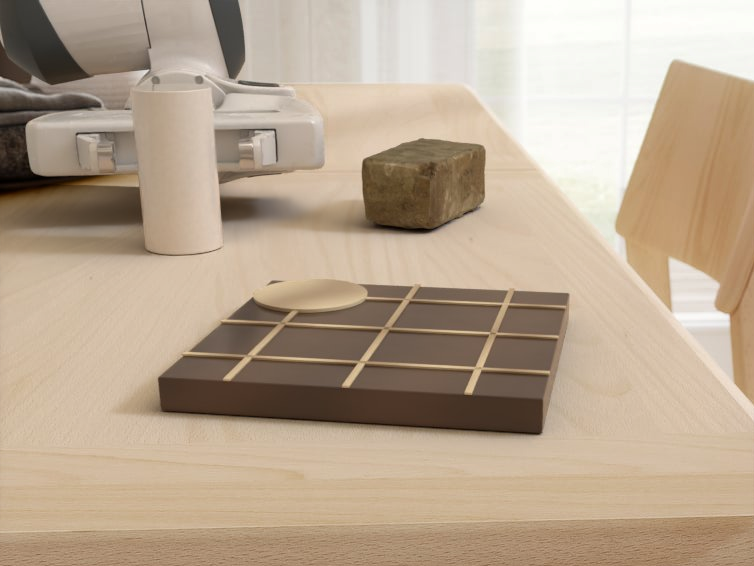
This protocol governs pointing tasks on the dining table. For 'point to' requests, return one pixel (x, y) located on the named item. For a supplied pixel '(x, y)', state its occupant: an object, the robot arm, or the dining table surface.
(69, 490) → the dining table surface
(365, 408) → the grid board
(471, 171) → the stone block
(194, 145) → the tall white cylinder
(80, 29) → the robot arm
